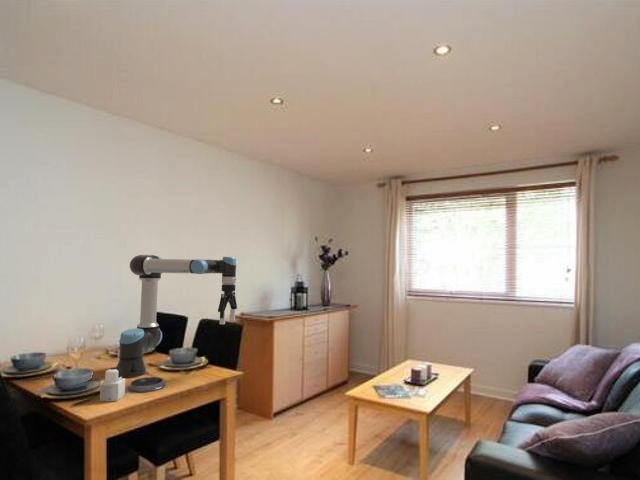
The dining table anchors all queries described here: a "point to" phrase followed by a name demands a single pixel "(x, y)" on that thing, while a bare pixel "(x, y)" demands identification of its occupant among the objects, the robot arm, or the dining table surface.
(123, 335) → the robot arm
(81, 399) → the dining table surface
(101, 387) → the container
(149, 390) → the blue-grey ceramic round dish
